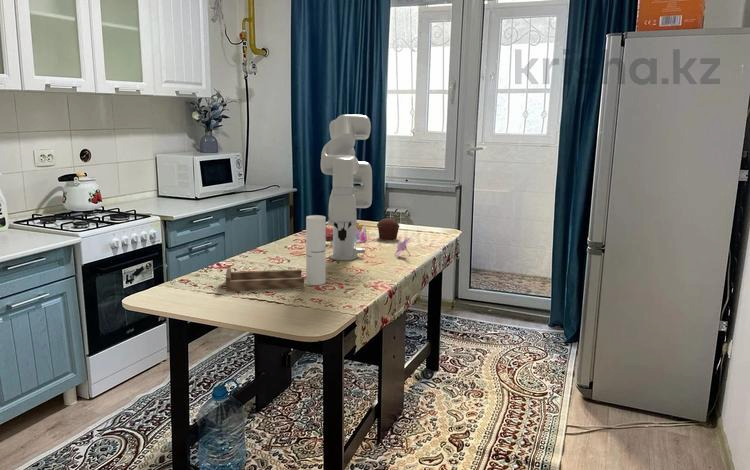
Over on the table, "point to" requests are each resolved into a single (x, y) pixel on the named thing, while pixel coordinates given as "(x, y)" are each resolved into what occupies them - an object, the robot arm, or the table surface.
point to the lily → (402, 247)
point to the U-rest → (263, 280)
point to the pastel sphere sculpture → (359, 235)
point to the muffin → (388, 229)
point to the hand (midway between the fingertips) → (342, 239)
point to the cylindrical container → (315, 249)
